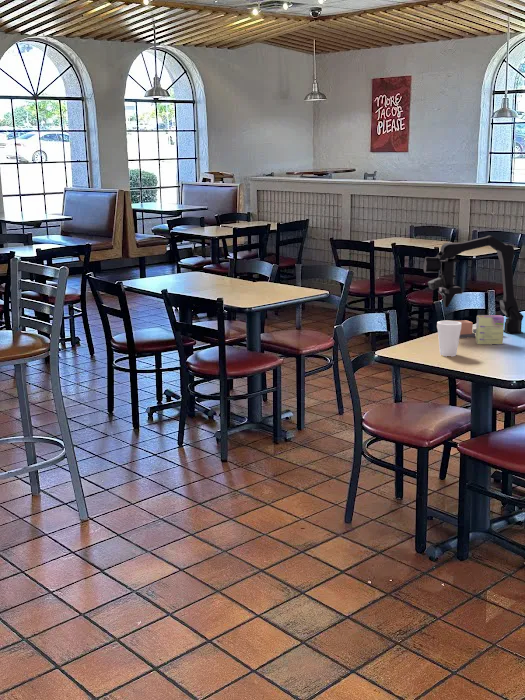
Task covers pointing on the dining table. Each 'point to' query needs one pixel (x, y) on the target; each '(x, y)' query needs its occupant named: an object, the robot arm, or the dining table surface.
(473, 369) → the dining table surface
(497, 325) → the box
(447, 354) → the foam cup
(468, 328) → the terracotta block
